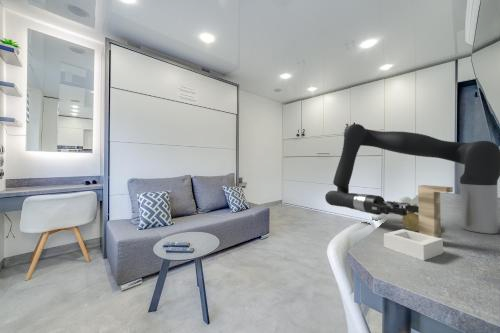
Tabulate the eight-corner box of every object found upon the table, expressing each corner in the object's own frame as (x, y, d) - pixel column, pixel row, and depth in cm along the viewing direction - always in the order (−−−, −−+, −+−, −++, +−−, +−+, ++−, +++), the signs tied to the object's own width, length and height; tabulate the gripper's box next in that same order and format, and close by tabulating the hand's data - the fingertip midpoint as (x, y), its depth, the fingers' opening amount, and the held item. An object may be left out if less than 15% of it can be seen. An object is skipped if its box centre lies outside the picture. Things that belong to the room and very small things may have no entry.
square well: (403, 241, 65) (403, 229, 65) (443, 253, 56) (442, 238, 56) (383, 246, 61) (383, 233, 61) (423, 260, 52) (423, 245, 52)
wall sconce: (443, 222, 68) (370, 188, 87) (429, 244, 71) (361, 207, 90) (451, 216, 76) (382, 187, 95) (438, 237, 79) (374, 204, 98)
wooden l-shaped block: (425, 238, 67) (424, 185, 67) (453, 246, 61) (452, 186, 61) (418, 240, 65) (418, 185, 65) (447, 248, 59) (446, 187, 59)
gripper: (356, 195, 80) (401, 202, 65) (379, 193, 86) (425, 198, 71) (356, 214, 80) (401, 225, 65) (379, 210, 86) (425, 219, 71)
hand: (413, 211), depth 68 cm, fingers open, 8 cm apart
